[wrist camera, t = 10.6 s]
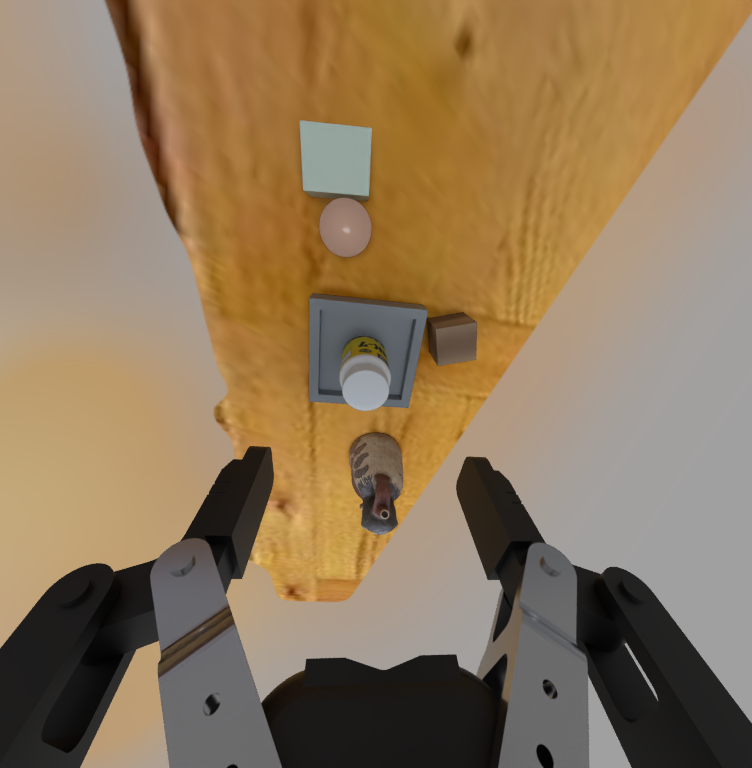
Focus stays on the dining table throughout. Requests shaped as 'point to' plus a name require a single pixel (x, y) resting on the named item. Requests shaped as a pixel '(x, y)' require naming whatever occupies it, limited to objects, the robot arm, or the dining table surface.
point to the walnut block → (452, 338)
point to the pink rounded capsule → (345, 227)
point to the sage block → (335, 160)
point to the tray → (363, 317)
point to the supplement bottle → (364, 373)
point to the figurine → (377, 480)
